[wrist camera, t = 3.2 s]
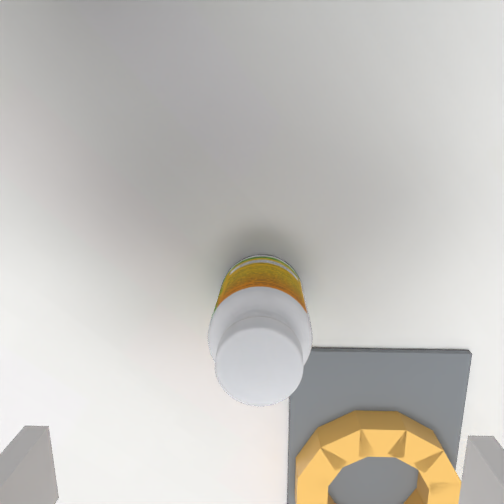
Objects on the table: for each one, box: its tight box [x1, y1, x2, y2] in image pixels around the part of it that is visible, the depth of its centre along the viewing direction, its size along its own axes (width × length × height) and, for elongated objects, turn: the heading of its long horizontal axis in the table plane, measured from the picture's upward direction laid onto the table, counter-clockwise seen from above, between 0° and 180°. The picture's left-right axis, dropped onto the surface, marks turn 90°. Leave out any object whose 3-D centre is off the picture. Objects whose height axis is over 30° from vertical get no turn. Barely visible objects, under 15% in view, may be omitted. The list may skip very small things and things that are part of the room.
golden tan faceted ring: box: [295, 410, 461, 504], centre depth 30 cm, size 11×11×2 cm
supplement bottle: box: [208, 255, 312, 406], centre depth 23 cm, size 5×5×10 cm
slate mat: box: [287, 348, 472, 504], centre depth 30 cm, size 12×16×1 cm
